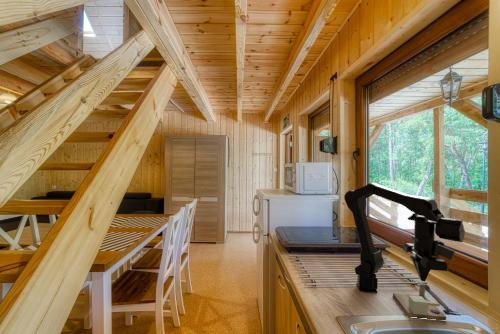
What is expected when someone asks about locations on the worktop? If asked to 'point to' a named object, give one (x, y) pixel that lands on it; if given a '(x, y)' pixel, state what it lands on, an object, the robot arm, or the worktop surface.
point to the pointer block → (420, 305)
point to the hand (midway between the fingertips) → (422, 280)
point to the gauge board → (432, 314)
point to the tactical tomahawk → (440, 301)
